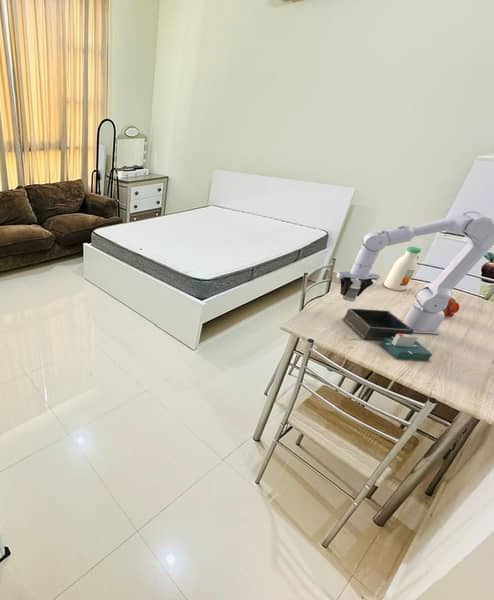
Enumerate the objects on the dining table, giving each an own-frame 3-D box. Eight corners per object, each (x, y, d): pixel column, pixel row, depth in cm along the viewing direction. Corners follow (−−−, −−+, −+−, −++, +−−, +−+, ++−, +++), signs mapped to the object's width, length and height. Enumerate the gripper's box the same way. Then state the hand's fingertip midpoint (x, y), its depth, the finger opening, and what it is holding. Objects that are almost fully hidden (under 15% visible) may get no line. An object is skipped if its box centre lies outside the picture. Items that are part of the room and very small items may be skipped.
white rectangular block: (408, 344, 110) (414, 334, 108) (411, 346, 109) (418, 336, 107) (391, 342, 111) (397, 333, 109) (394, 345, 109) (400, 335, 107)
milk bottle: (389, 290, 151) (410, 250, 141) (380, 283, 158) (399, 244, 148) (408, 291, 150) (430, 251, 140) (397, 284, 157) (418, 245, 146)
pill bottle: (356, 302, 128) (365, 283, 123) (343, 301, 128) (351, 282, 124) (351, 296, 132) (359, 278, 127) (338, 295, 132) (346, 277, 128)
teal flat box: (408, 344, 115) (413, 337, 113) (429, 362, 106) (435, 355, 105) (373, 342, 116) (377, 335, 114) (391, 359, 108) (396, 352, 106)
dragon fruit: (432, 322, 130) (434, 315, 138) (463, 318, 124) (463, 311, 131) (424, 302, 131) (427, 297, 138) (455, 297, 124) (455, 292, 132)
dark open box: (382, 321, 128) (388, 310, 125) (406, 342, 116) (414, 330, 113) (343, 319, 129) (348, 308, 126) (363, 339, 117) (370, 327, 115)
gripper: (377, 260, 125) (362, 291, 132) (337, 258, 126) (325, 289, 133) (389, 267, 119) (373, 299, 126) (347, 266, 120) (334, 297, 127)
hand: (349, 294), depth 129 cm, fingers closed on pill bottle, 5 cm apart
